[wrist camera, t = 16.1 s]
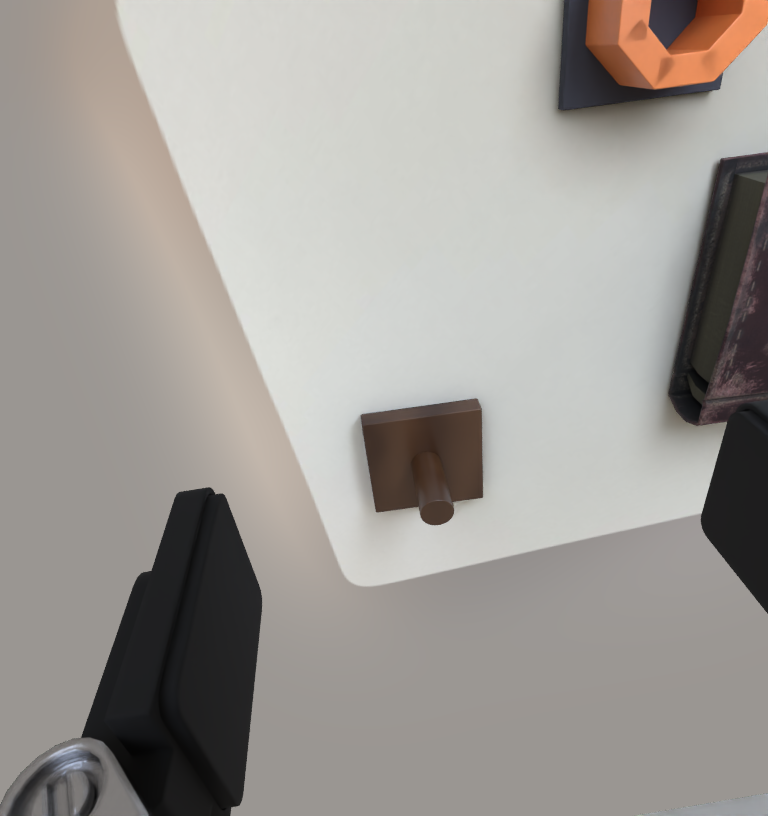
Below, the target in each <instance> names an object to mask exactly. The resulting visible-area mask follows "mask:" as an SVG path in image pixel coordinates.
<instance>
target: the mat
mask: <svg viewBox="0 0 768 816" xmlns="http://www.w3.org/2000/svg"><path fill="white" fill-rule="evenodd" d="M588 3H589V0H564V17H563V35H562V52H561V70H560V87H559V105H558V109H560V110H570V109H578V108H585V107H593V106H600V105H607V104H615V103H622V102H630V101H637V100H644V99H652V98H659V97H667V96H674V95H681V94H689V93H696V92H704V91H711V90H718V89H720V86H721V80H722V75H723V72H722V73H721V74H720V75H719V77H718V78H717V79H716V80H715V81H713V82H708V83H700V84H693V85H686V86H678V87H671V88H664V89H656V90H654V89H646V88H638V87H630V86H623V85H619V84H618V83H617V82H616V81H615V79H614V78H613V77H612V76H611V75H610V74H609V72H608V71H607V70H606V69H605V68H604V66H603V65H602V64H601V63H600V62H599V61H598V59H597V58H596V57H595V56H594V55H593V54H592V52H591V51H590V50H589V49H588V48H587V46H586V45H585V43H586V30H587V16H588ZM697 3H698V0H651V8H650V16H649V24H648V27H649V28H650V29H651V30H652V32H653V33H654V34H655V36H656V37H657V38H658V39H659V41H660V42H661V43H662V45H663V46H664V47H665V49H666V50H667V49H668V47H669V46H670V45H671V44H672V43H673V42H674V41H675V40H676V38H677V37H678V36H679V35H680V34H681V33H682V32H683V30H684V29H685V28H686V27H687V26H688V25H689V24H690V22H691V21H692V20H693V19H694V18H695V15H696V9H697Z"/></svg>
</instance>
